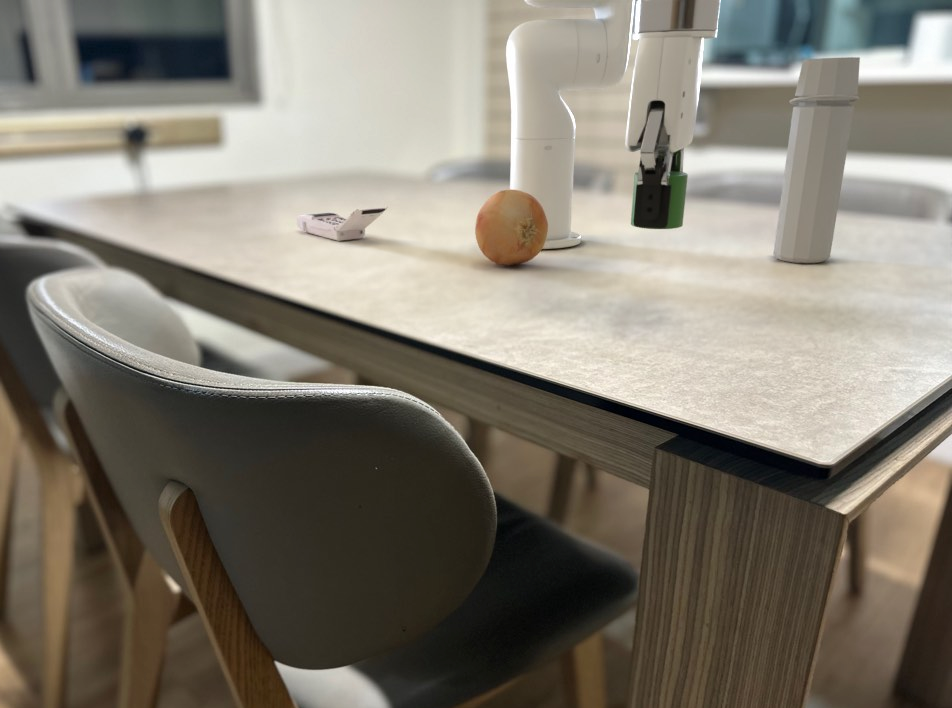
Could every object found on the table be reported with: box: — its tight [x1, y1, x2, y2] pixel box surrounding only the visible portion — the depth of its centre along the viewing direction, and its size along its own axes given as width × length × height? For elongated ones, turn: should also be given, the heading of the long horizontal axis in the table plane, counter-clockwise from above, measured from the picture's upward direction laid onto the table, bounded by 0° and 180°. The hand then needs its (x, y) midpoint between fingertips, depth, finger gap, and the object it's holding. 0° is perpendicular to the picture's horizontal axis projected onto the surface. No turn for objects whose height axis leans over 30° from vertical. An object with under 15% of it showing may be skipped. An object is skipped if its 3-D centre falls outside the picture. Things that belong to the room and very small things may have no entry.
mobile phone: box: [296, 206, 389, 242], centre depth 136 cm, size 6×6×25 cm
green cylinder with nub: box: [630, 167, 689, 230], centre depth 80 cm, size 5×5×6 cm
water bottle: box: [773, 56, 861, 264], centre depth 105 cm, size 9×8×25 cm
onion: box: [474, 189, 548, 266], centre depth 108 cm, size 10×10×10 cm
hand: (656, 220), depth 81 cm, fingers closed on green cylinder with nub, 5 cm apart
